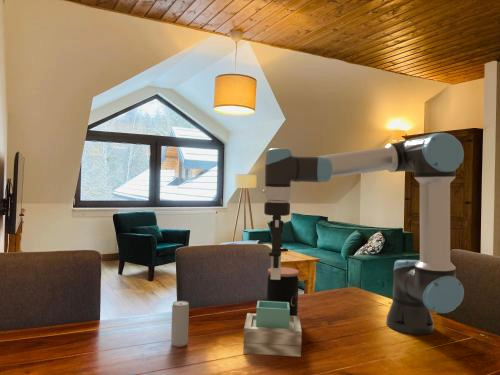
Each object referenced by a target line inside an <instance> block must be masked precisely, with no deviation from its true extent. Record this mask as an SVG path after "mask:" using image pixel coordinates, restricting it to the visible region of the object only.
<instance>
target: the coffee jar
mask: <svg viewBox="0 0 500 375" xmlns="http://www.w3.org/2000/svg"><path fill="white" fill-rule="evenodd" d="M299 272H300V271H299V270H298V269H296V268H292V267H285V266H284V267H283V266H281V274H280V280H274V279H271V267H269V268H268V269H267V274H268V276H267V281H266V282H267V283H266V288H267V289H266V301H273V302H289V307H290V316H298V308H299V307H298V304H299V302H298V301H299V281H300V280H299V277H298V275H299V274H300V273H299Z"/></svg>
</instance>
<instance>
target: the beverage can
mask: <svg viewBox="0 0 500 375" xmlns="http://www.w3.org/2000/svg"><path fill="white" fill-rule="evenodd" d="M189 311H190V304H189V302H188V301H186V300H176V301H174V302H172V307H171V338H170V340H171V345H172V346H173V347H178V348H181V347H185V346H186V345H187V344H188V342H189V318H190V317H189V315H190V314H189V313H190V312H189Z"/></svg>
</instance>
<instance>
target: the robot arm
mask: <svg viewBox="0 0 500 375" xmlns="http://www.w3.org/2000/svg"><path fill="white" fill-rule="evenodd" d="M464 157H465V152H464V148H463V146H462V143H461V141H459V139H458V138H456V136H454V135H453V134H450V133H447V132H436V133H429V134H426V135H421V136H415V137H412V138H408V139H405V140H402V141H398V142H394V143H388V144H386V145H385V146H384V147H379V148H371V149H364V150H356V151H349V152H348V151H347V152H342V153H335V154H325V155H319V156H295V155H293V153H292V150H291V149H290V148H268V149H267V151H266V154H265V163H264V166H265V167H264V168H265V169H264V171H265V172H264V173H265V175H264V186H265V187H264V189H263V190H262V193H263V194H264V200H265V202H264V206H263V208H264V209H263V210H264V211H263V214H264V215H265V216H272V218H271V219H272V220H270V221H269V228H270V236H271V237H272V238H271V252H269V253H268V257H270V268H271V279H274V280H280V274H281V267H282V265H281V264H282V251H281V250H282V248H283V243H282V236H283V234H284V233H283V231H284V230H283V229H284V221H283V220H282V216H285V217H286V216H289V215H290V214H291V204H290V201H291V194H292V193H291V189H292V188H291V182H295V183H318V184H320V183H327V182H330V180H331V178H337V177H346V176H353V175H359V174H360V175H361V174H367V173H375V172H383V171H388V172H389V173H397V172H412V173H413V172H414V174H413V175H414V179H415V180H416V182H418V183H419V184H418V185H419V259H397V260H395V261H394V265H393V270H392V271H393V279H392V280H393V281H392V282H393V284H392V302H391V305H390V308H389V310H388V313H387V315H386V320H385V321H386V326H388V327H389V328H390V329H391V330H393V331H397V332H399V333H404V334H409V335H416V336H418V335H430V334H432V333H434V329H435V328H434V326H435V325H434V324H435V323H434V321H433V316H432V313H431V311H433V312H435V313H438V314H448V313H450V312H452V311H454V310H456V308H458V307H459V306H460V305H461V303H462V302H463V300H464V296H465V289H464V286H463V284H462V282H461V281H460V280H459V279H458V278H457V267H456V266H455V265H454V264H453V263H452V261H451V183H452V182H453V181H454V180H455V179H456V178H457V177H456V175H457V172H456V170H457V169H458V168H460V165H462V164H463V161H464Z"/></svg>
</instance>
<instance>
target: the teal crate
mask: <svg viewBox="0 0 500 375" xmlns="http://www.w3.org/2000/svg"><path fill="white" fill-rule="evenodd" d="M256 303H257V304H256V309H255V312H256V313H255V314H256V327H264V328H282V329H289V317H290V307H289V302H273V301H267V300H257V302H256Z"/></svg>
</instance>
